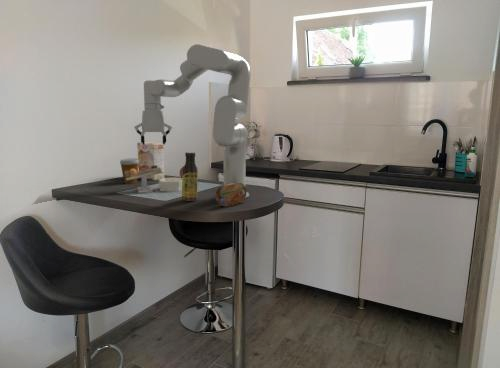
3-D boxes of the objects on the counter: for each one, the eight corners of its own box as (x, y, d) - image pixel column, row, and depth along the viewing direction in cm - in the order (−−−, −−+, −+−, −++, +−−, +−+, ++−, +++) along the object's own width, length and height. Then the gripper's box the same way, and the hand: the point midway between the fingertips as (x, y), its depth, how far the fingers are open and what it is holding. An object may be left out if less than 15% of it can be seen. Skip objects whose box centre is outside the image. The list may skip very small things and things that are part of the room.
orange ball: (137, 175, 167) (135, 168, 166) (130, 176, 166) (128, 170, 165) (137, 174, 170) (135, 167, 169) (130, 175, 169) (128, 169, 168)
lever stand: (152, 192, 168) (151, 173, 166) (138, 192, 166) (137, 174, 164) (150, 188, 176) (149, 171, 175) (137, 189, 174) (136, 171, 173)
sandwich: (219, 208, 140) (219, 186, 139) (214, 207, 142) (214, 185, 141) (246, 202, 151) (247, 181, 149) (241, 200, 153) (241, 180, 152)
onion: (195, 180, 200) (195, 161, 198) (200, 183, 192) (199, 164, 190) (178, 181, 197) (178, 162, 195) (181, 184, 188) (181, 164, 186)
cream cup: (185, 190, 172) (185, 181, 171) (161, 192, 168) (160, 182, 167) (181, 186, 183) (181, 177, 182) (158, 187, 179) (157, 178, 178)
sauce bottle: (184, 202, 149) (183, 153, 145) (180, 199, 154) (179, 151, 151) (199, 201, 151) (199, 152, 148) (195, 198, 157) (195, 151, 153)
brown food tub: (117, 182, 190) (115, 159, 188) (132, 180, 198) (131, 157, 196) (128, 184, 185) (127, 161, 183) (144, 182, 193) (143, 159, 190)
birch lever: (162, 172, 170) (160, 165, 169) (126, 180, 165) (124, 173, 164) (158, 168, 181) (157, 162, 181) (125, 175, 177) (123, 169, 176)
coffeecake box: (138, 176, 209) (136, 142, 205) (149, 175, 214) (147, 141, 211) (154, 180, 199) (152, 143, 196) (164, 178, 205) (163, 143, 201)
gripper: (170, 108, 180) (170, 143, 183) (133, 107, 174) (134, 143, 177) (172, 108, 173) (173, 144, 177) (133, 107, 167) (135, 145, 171)
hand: (153, 144), depth 177 cm, fingers open, 9 cm apart
